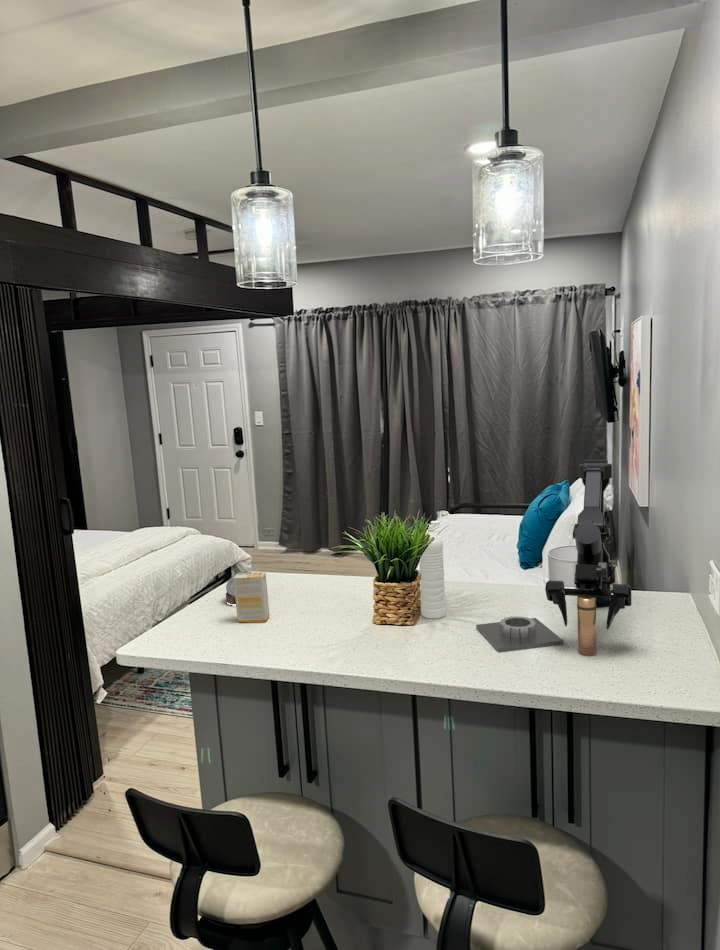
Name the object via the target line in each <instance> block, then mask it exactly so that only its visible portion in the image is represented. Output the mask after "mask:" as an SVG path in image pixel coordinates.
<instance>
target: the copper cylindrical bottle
mask: <svg viewBox="0 0 720 950" xmlns="http://www.w3.org/2000/svg"><path fill="white" fill-rule="evenodd" d="M576 599H577V602H576V603H577V604H576V607H577V653H578V654H579V655H580V656H584V657H585V656H586V657H592V656H596V655H597V607H596V597H595V596H592V595H580V596H576Z"/></svg>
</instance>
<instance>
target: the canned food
mask: <svg viewBox="0 0 720 950" xmlns="http://www.w3.org/2000/svg"><path fill="white" fill-rule="evenodd" d="M238 573H253V572H251V571H248V570H243V571H239V572H237V573H235V574H233V575H232V576H231V577H230V578H229V579H228V581H227V583H226V584H225V591H226V593H225V598H226V599H225V600H226V603H227V602H228V603H230V604H236V599H235V589H234V579H233V578H234V577H235V576H236V575H237V574H238Z"/></svg>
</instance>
